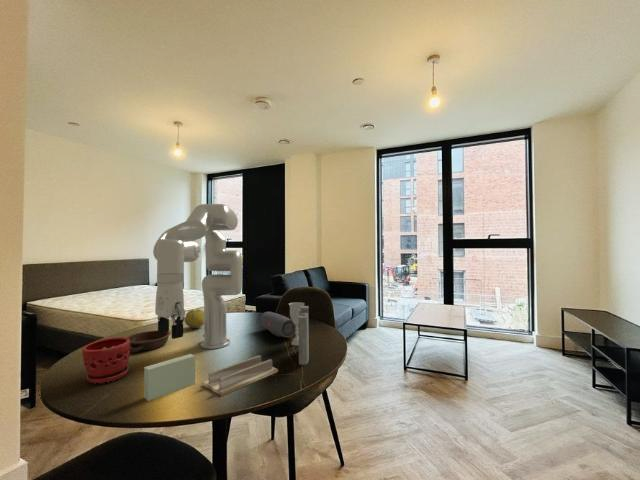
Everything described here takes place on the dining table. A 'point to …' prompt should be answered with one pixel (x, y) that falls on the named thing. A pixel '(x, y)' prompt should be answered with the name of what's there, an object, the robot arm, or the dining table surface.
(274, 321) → the bluetooth speaker
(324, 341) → the dining table surface
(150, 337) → the dish
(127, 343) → the plant pot
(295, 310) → the chalice
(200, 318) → the fruit
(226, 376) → the track
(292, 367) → the dining table surface
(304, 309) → the hip flask
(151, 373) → the door panel
